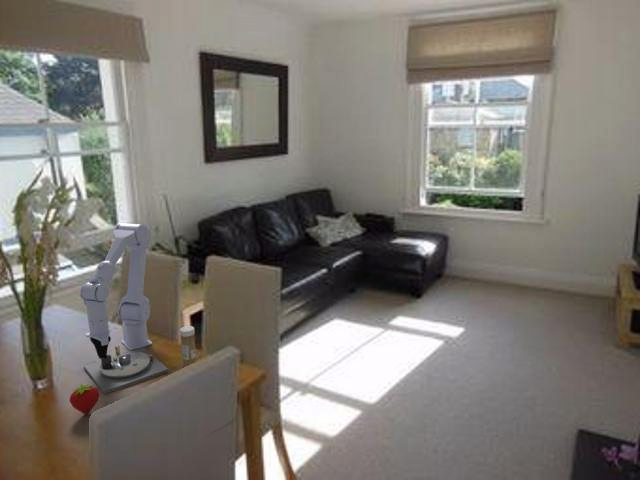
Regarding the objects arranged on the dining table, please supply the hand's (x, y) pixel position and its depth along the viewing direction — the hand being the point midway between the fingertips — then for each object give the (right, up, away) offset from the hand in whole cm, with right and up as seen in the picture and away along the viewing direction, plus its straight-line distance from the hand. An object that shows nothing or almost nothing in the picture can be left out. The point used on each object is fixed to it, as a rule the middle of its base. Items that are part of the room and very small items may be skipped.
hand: (102, 357), depth 161 cm
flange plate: (+8, -3, 0) cm, 9 cm away
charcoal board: (+8, -4, 0) cm, 9 cm away
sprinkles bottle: (+28, -4, +2) cm, 28 cm away
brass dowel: (+3, -2, +6) cm, 7 cm away
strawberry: (+6, -10, -23) cm, 26 cm away
